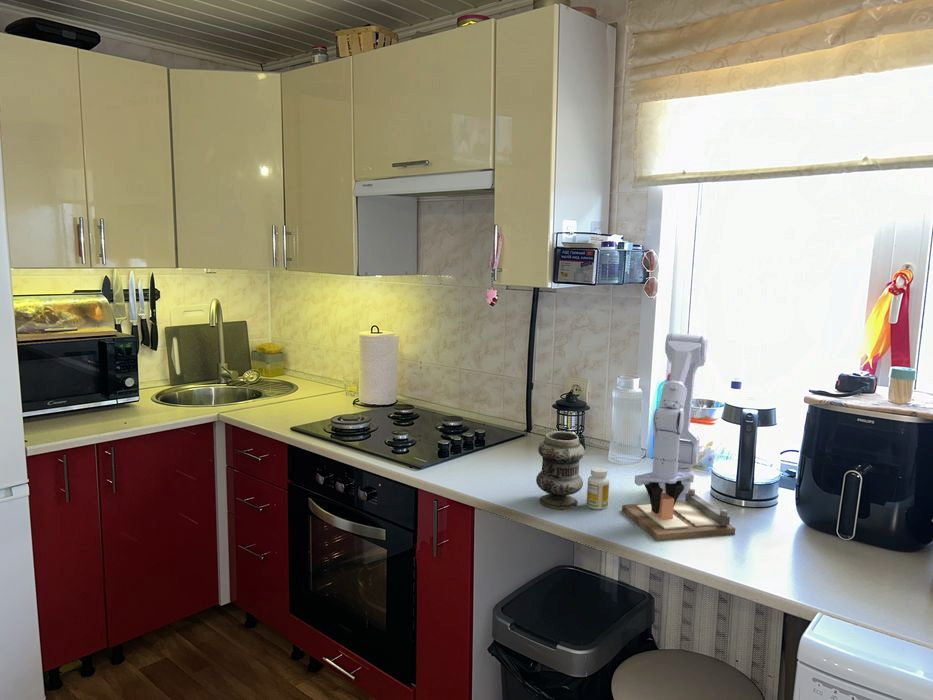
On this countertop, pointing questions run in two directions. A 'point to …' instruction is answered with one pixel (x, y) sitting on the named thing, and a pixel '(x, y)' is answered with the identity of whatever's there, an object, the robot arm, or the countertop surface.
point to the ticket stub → (664, 513)
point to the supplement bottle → (598, 489)
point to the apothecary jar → (560, 469)
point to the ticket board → (685, 519)
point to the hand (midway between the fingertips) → (661, 511)
